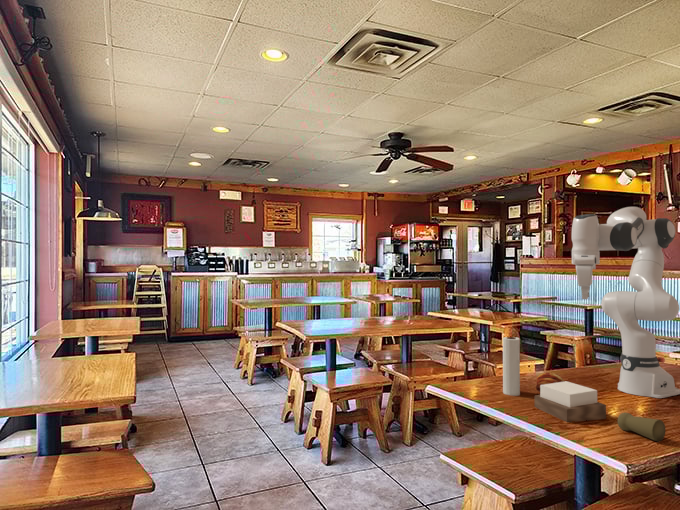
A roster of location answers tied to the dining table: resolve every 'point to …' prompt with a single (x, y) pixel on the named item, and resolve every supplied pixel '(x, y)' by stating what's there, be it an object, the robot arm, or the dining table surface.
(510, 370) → the paper towel roll
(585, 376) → the dining table surface
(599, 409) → the tower base block
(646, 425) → the olive green pawn
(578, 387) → the tower top block
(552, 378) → the croissant
